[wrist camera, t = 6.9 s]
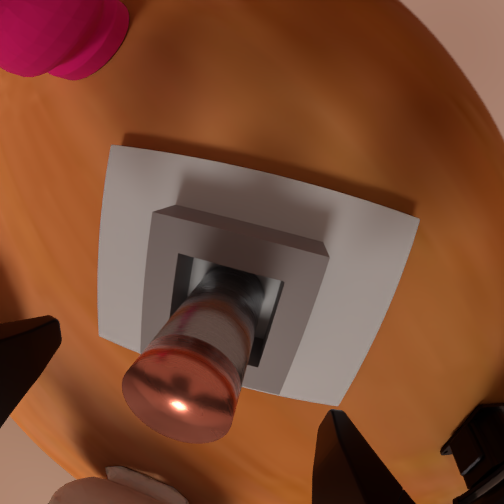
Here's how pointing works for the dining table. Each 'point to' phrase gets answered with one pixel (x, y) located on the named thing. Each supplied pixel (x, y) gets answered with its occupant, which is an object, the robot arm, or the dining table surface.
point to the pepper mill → (60, 36)
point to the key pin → (198, 359)
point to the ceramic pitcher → (117, 490)
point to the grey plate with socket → (250, 263)
